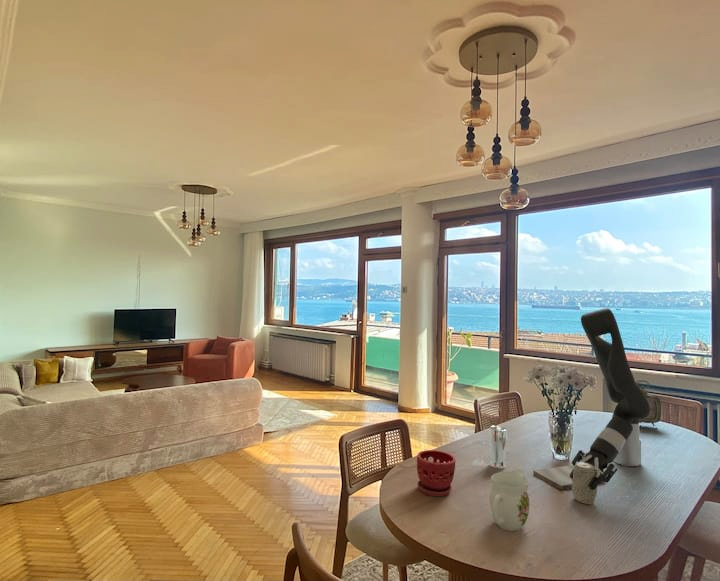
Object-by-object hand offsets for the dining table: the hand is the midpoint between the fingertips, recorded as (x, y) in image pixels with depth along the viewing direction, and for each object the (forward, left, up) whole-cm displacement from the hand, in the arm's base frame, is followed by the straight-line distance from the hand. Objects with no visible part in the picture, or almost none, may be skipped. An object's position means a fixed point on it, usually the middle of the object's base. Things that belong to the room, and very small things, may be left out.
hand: (580, 483), depth 141 cm
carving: (-2, 0, -6) cm, 6 cm away
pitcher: (+33, +6, -6) cm, 35 cm away
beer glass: (+7, -34, -6) cm, 35 cm away
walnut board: (-11, -16, -6) cm, 20 cm away
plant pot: (+42, -21, -6) cm, 48 cm away
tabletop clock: (-103, -59, -6) cm, 118 cm away
